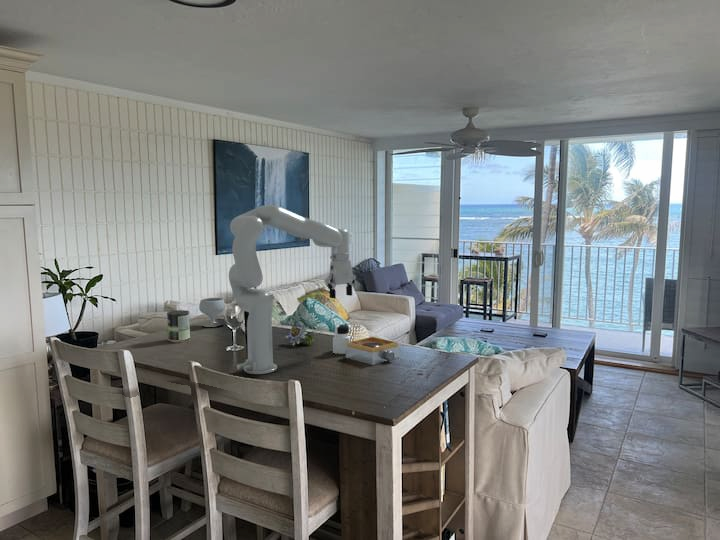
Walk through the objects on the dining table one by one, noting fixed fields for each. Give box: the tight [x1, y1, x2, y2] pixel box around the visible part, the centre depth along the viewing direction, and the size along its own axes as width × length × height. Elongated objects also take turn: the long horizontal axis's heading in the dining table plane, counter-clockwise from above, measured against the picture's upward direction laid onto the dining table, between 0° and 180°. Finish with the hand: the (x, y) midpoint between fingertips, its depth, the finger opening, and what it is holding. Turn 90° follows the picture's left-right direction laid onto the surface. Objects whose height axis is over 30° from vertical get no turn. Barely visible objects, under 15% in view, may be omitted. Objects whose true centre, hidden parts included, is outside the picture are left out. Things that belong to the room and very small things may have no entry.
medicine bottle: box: [332, 324, 350, 355], centre depth 224 cm, size 7×7×12 cm
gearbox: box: [345, 336, 400, 366], centre depth 214 cm, size 16×19×6 cm
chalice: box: [198, 297, 226, 324], centre depth 282 cm, size 14×14×15 cm
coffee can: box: [166, 309, 191, 340], centre depth 249 cm, size 10×10×14 cm
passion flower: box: [284, 322, 316, 347], centre depth 239 cm, size 11×11×12 cm
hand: (341, 296), depth 222 cm, fingers open, 9 cm apart
